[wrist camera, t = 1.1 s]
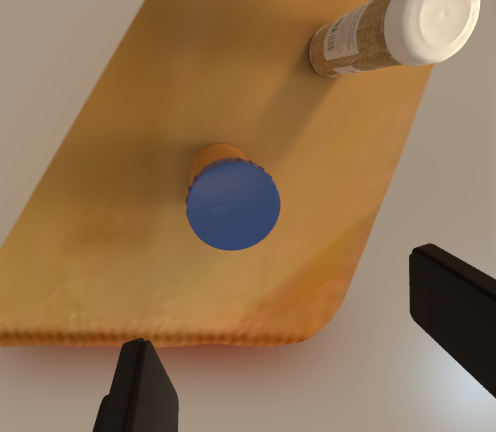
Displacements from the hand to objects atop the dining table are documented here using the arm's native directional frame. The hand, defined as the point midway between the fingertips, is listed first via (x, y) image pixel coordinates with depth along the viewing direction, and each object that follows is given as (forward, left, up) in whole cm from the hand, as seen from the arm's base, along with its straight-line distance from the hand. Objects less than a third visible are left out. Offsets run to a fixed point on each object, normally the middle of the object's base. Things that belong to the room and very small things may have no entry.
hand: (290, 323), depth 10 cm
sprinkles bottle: (-14, +7, -22) cm, 27 cm away
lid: (0, 0, -12) cm, 12 cm away
